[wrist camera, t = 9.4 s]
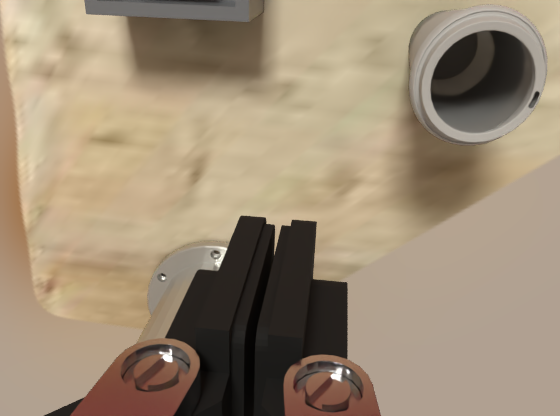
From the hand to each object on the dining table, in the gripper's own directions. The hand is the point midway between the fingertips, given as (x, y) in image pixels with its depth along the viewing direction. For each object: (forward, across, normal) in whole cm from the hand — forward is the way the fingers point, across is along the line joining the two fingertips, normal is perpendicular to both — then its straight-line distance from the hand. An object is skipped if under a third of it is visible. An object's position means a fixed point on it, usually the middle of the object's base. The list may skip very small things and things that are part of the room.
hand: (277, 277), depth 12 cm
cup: (+29, -8, -1) cm, 30 cm away
